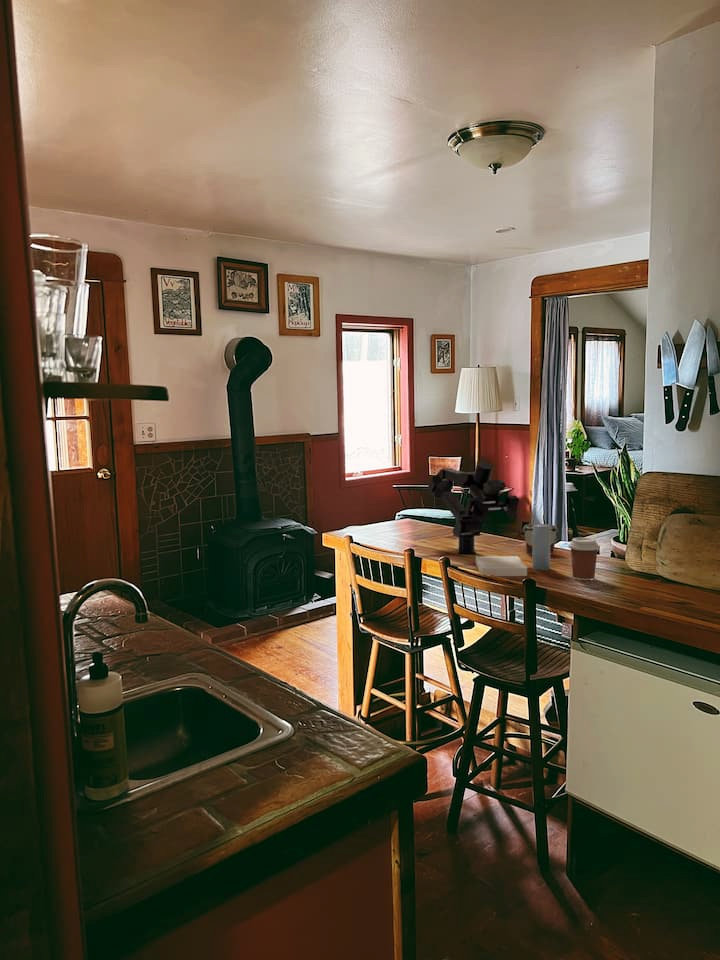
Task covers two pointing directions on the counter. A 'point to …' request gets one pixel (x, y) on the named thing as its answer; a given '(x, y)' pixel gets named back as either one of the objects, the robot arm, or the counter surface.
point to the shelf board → (501, 566)
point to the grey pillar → (541, 547)
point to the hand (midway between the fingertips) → (503, 519)
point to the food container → (529, 537)
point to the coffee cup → (583, 558)
